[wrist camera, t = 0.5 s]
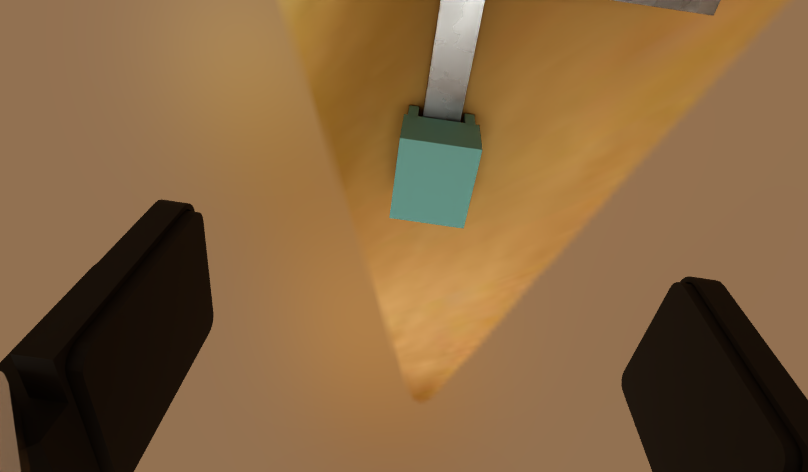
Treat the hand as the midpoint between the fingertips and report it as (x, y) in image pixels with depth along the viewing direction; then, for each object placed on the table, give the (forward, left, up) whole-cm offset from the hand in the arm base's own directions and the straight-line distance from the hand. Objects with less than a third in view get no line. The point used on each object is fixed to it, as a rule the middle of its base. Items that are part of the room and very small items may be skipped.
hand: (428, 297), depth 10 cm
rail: (+8, +1, -33) cm, 33 cm away
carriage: (+12, +1, -33) cm, 35 cm away
